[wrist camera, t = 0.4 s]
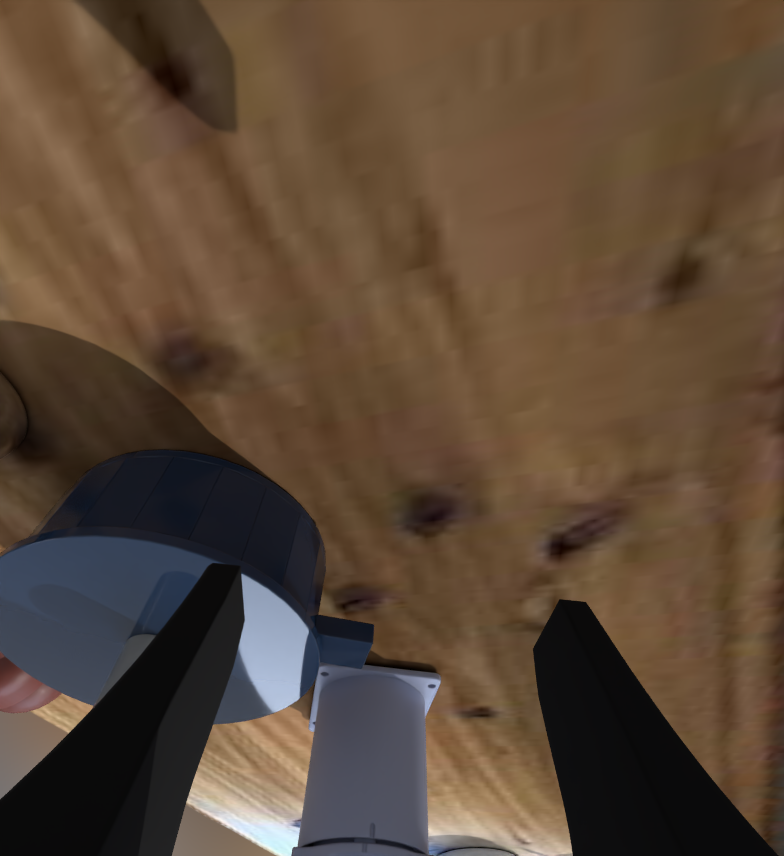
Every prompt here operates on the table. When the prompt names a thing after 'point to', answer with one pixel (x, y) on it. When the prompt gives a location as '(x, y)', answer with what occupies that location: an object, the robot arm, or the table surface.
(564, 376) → the table surface
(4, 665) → the red ribbed oval
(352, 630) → the pan
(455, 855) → the coaster
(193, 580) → the pan lid
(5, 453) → the beer glass
